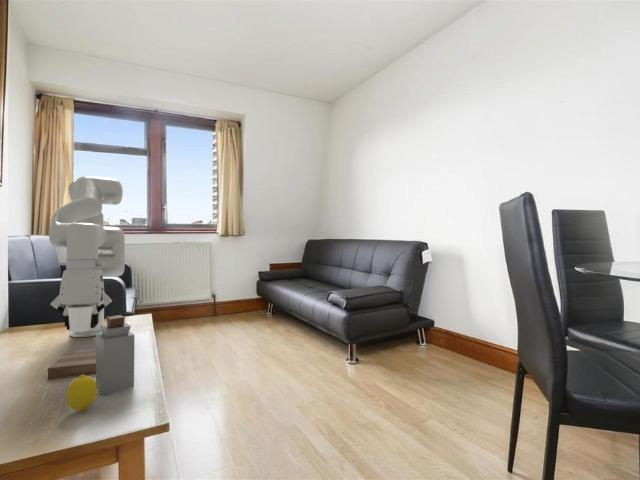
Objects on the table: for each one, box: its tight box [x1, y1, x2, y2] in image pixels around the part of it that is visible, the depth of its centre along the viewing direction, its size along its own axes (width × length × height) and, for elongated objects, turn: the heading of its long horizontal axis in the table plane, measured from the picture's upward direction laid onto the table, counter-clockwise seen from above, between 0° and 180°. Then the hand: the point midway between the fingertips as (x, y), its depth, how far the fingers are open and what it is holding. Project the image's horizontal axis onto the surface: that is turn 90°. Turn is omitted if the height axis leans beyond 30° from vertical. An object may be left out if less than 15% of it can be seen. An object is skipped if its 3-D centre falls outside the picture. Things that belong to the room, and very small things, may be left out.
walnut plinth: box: [47, 350, 96, 380], centre depth 97 cm, size 12×12×3 cm
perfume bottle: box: [95, 314, 135, 397], centre depth 85 cm, size 7×7×18 cm
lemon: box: [65, 375, 98, 413], centre depth 73 cm, size 6×6×8 cm
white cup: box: [68, 305, 93, 333], centre depth 96 cm, size 7×7×7 cm
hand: (81, 327), depth 96 cm, fingers closed on white cup, 5 cm apart
